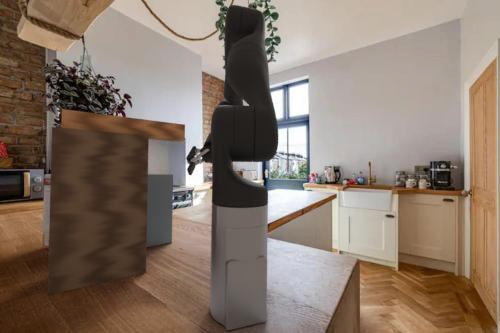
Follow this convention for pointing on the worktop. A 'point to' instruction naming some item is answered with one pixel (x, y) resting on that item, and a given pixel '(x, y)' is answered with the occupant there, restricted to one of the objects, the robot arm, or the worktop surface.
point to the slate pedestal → (159, 209)
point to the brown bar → (123, 125)
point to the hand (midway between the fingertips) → (202, 176)
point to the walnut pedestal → (96, 207)
